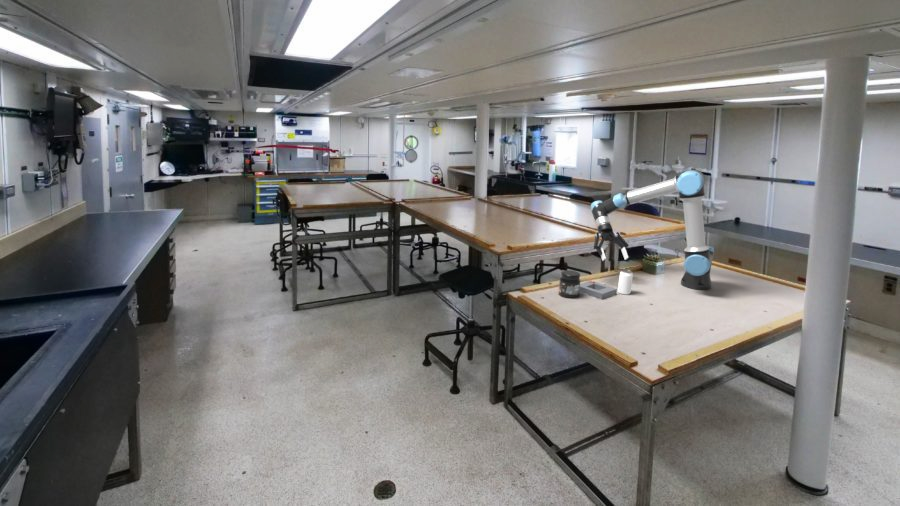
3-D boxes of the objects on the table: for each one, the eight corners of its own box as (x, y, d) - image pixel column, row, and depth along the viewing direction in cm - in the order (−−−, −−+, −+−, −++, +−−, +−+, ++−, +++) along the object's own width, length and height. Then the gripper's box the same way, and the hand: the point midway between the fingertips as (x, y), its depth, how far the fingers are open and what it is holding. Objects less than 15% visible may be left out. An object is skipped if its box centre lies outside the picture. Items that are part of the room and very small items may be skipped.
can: (617, 293, 244) (619, 272, 240) (617, 289, 250) (620, 268, 246) (630, 295, 241) (633, 273, 238) (630, 291, 247) (633, 270, 244)
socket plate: (616, 294, 243) (617, 287, 242) (601, 299, 235) (602, 292, 234) (590, 285, 255) (591, 279, 254) (575, 290, 247) (576, 283, 246)
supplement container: (559, 290, 247) (561, 268, 244) (579, 293, 244) (582, 271, 240) (556, 296, 237) (558, 274, 234) (578, 299, 234) (580, 277, 231)
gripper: (620, 229, 268) (632, 261, 258) (581, 230, 262) (591, 263, 252) (627, 222, 261) (639, 255, 251) (586, 222, 256) (597, 256, 246)
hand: (615, 259), depth 252 cm, fingers open, 13 cm apart
